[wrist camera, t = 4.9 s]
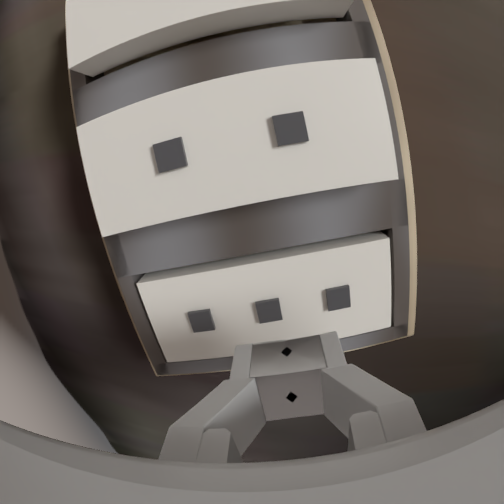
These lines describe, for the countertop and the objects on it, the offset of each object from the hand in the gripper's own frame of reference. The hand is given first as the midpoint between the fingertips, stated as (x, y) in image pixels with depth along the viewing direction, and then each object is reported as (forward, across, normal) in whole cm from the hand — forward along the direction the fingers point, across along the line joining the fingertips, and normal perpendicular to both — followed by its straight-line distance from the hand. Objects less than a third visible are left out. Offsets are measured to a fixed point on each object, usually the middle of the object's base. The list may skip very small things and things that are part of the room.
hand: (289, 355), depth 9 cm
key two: (+5, +1, -6) cm, 8 cm away
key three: (+6, +1, +1) cm, 6 cm away
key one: (+5, +1, -13) cm, 14 cm away
